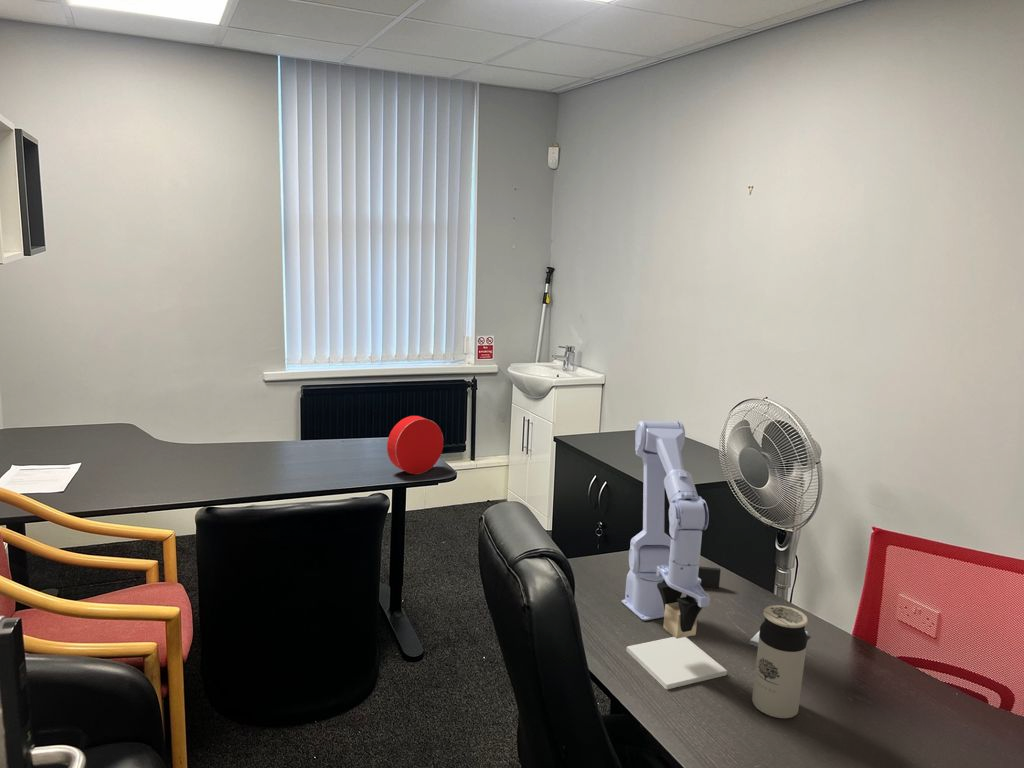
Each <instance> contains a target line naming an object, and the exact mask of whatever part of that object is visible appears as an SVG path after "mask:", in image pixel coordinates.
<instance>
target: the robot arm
mask: <svg viewBox="0 0 1024 768" xmlns="http://www.w3.org/2000/svg"><path fill="white" fill-rule="evenodd" d="M634 437H635V441H634V443H635V444H634V447H635V455H636V456H638V457H640V458H642V464H643V480H642V481H643V482H642V483H643V485H642V486H643V487H642V488H643V489H642V490H643V494H642V495H643V497H642V498H643V499H642V502H643V503H642V507H643V508H642V530H641V531H640V532H639V533H637V534H636V535H635V536H633V537H632V538H631V539H630V543H629V544H630V546H629V547H630V548H629V550H628V551H629V552H628V565H629V571H628V573H627V575H626V581H625V593H624V594H625V595H624V599H622V600H621V603H622V604H624V606H625V607H626V608H627V609H629V610H630V611H632V613H633V614H635V615H636V616H637V617H638V618H639V619H641V620H642V621H644V622H645V621H650V620H655V619H660V618H661V619H662V618H664V614H665V604H670V603H675V602H678V604H679V608H680V616H681V618H680V626H681V631H682V632H687V631H691V630H692V628H693V625H694V622H695V620H696V618H697V619H698V616H699V614H700V612H701V611H702V609H703V608H706V607H709V606H710V601H711V596H710V595H708V594H707V593H706V591H705V590H704V587H701V585H700V583H701V579H700V578H698V572H699V566H700V561H701V560H700V559H701V548H702V536H703V531H706V530H707V528H708V525H709V521H710V520H709V517H710V516H709V508H708V504H707V502H706V500H705V499H703V498H702V496H700V495H698V492H697V488H696V485H695V483H694V482H695V481H694V480H693V476H692V474H691V473H690V472H689V471H687V470H685V467H684V462H683V457H682V453H681V452H682V451H683V446H684V445H685V441H686V429H685V426H684V424H683V423H682V421H679V420H677V421H664V420H663V421H662V420H656V421H655V420H643V419H642V420H641V419H640V420H639V421H638V423H637V424H636V427H635V436H634ZM665 474H666V475H665ZM665 492H666V497H667V500H668V503H669V508H668V521H669V529H668V530H669V531H668V532H669V533H668V534H669V535H668V534H667V533H666V532H665ZM683 594H684V595H685V596H684V597H683V596H682V595H683Z"/></svg>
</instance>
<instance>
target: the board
mask: <svg viewBox="0 0 1024 768" xmlns="http://www.w3.org/2000/svg"><path fill="white" fill-rule="evenodd" d="M625 649H626V650H625V651H626V653H628V654H629V655H630V656H631V658H633V659H634V660H635V661H636V662H637V663H638V664H639V665H641V667H642V668H643V669H644V670H645V671H646V672H648V674H649V675H651V676H652V677H653V678H654V679H655V681H657V682H658V683H659V684H660V685H661V686H662V687H663V688H664V689H665V690H670V689H675V688H677V687H678V688H679V687H682V686H683V687H684V686H687V685H691V684H695V683H700V682H703V681H707V680H708V681H709V680H712V679H715V678H717V679H718V678H719V677H724V676H727V672H728V671H727V669H725V668H724V666H722V665H721V664H720V663H718V662H717V661H716V660H714V659H713V658H712V657H711V656H710V655H708V654H707V653H706V652H705V651H704V650H703V649H701V648H700V647H698V645H696V643H694V642H693V641H691V640H690V639H689V638H688V637H683V638H678V639H676V638H675V637H674V636H672V637H671V636H670V637H666V638H661V639H658V640H657V639H656V640H652V641H648V642H647V641H646V642H643V643H638V644H632V645H628V646H626V648H625Z"/></svg>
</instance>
